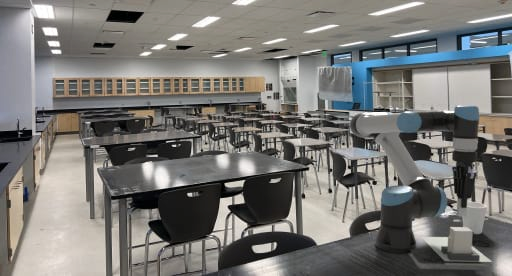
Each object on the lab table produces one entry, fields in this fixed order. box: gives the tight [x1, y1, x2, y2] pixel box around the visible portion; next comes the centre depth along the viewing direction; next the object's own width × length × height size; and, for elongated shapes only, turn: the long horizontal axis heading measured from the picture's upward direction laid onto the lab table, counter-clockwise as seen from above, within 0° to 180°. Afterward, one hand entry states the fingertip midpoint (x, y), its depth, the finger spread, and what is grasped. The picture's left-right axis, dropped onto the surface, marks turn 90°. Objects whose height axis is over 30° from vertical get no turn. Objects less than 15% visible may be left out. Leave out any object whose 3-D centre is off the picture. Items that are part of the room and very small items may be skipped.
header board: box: [421, 236, 493, 267], centre depth 143 cm, size 16×23×4 cm
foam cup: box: [461, 201, 487, 235], centre depth 160 cm, size 10×9×13 cm
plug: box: [447, 226, 475, 254], centre depth 135 cm, size 8×4×10 cm, turn 86°
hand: (461, 215), depth 134 cm, fingers closed
